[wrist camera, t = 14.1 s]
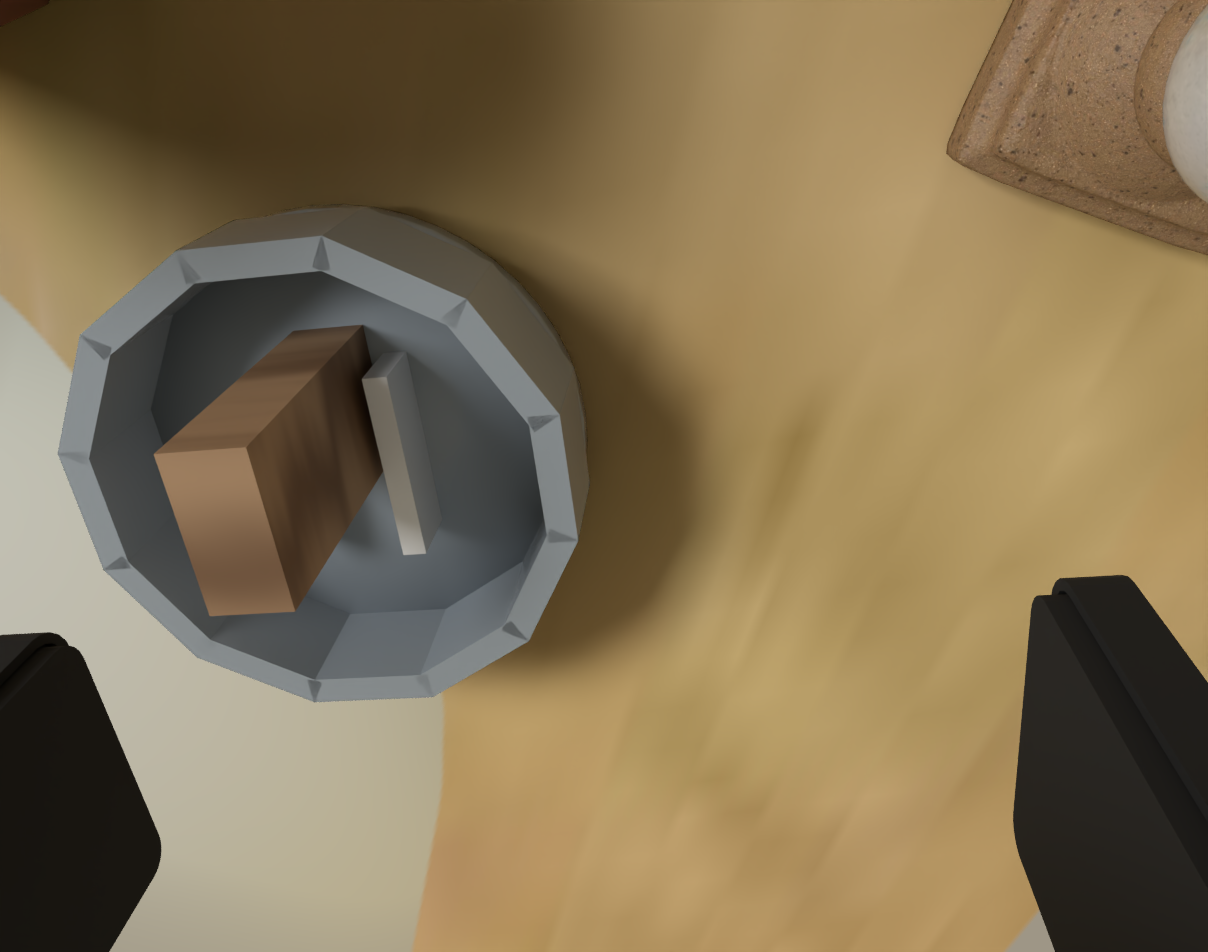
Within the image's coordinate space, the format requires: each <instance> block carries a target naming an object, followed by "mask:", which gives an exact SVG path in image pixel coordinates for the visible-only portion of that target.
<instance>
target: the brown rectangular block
mask: <svg viewBox="0 0 1208 952" xmlns="http://www.w3.org/2000/svg"><path fill="white" fill-rule="evenodd" d="M371 367H372V363H371V358H370V354H369V350H368V345H367V341H366V337H365V332H364V328H363V325H352V326H341V327H330V328H318V329H307V330H296V331H292V332H291V333H290V334H289V335H288V336H287V337H286V338H285V339H283V340H282V341H281V342H280V343H279V344H278V345H277V346H275V347H274V348H273V349H272V350H271V351H270V352H269V353H268V354H266V355H265V356H264V357H263V358H262V359H261V360H260V361H258V362H257V363H256V364H255V365H254V366H253V367H252V368H251V369H249V370H248V371H247V372H246V373H245V374H244V375H243V376H241V377H240V378H239V379H238V380H237V381H236V382H235V383H234V384H232V385H231V386H230V387H229V388H228V389H227V390H226V391H224V392H223V393H222V394H221V395H220V396H219V397H218V398H217V399H215V400H214V401H213V402H212V403H211V404H210V405H209V406H208V407H206V408H205V409H204V410H203V411H202V412H201V413H200V414H198V415H197V416H196V417H195V418H194V419H193V420H192V421H191V422H189V423H188V424H187V425H186V426H185V427H184V428H183V429H181V430H180V431H179V432H178V433H177V434H176V435H175V436H174V437H172V438H171V439H170V440H169V441H168V442H167V443H166V444H164V445H163V446H162V447H161V448H160V449H159V450H158V451H157V452H155V453H154V457H155V460H156V463H157V466H158V468H159V471H160V474H161V477H162V480H163V483H164V486H165V489H166V492H167V494H168V497H169V500H170V503H171V506H172V509H173V512H174V515H175V518H176V520H177V523H178V526H179V529H180V532H181V535H182V538H183V541H184V543H185V546H186V549H187V552H188V555H189V558H190V561H191V564H192V567H193V569H194V572H195V575H196V578H197V581H198V584H199V587H200V590H201V592H202V595H203V598H204V601H205V604H206V607H207V610H208V613H209V616H223V615H242V614H261V613H280V612H295V611H296V610H297V608H298V607H299V605H300V603H301V602H302V600H303V599H304V597H305V595H306V594H307V592H308V591H309V589H310V587H311V586H312V584H313V583H314V581H315V579H316V578H317V576H318V575H319V573H320V571H321V570H322V568H323V567H324V565H325V564H326V562H327V560H328V559H329V557H330V556H331V554H332V552H333V551H334V549H335V548H336V546H337V544H338V543H339V541H340V540H341V538H342V536H343V535H344V533H345V532H346V530H347V528H348V527H349V525H350V524H351V522H352V520H353V519H354V517H355V516H356V514H357V512H358V511H359V509H360V508H361V506H362V504H363V503H364V501H365V500H366V498H367V496H368V495H369V493H370V492H371V490H372V489H373V487H374V485H375V484H376V482H377V481H378V479H379V477H380V476H381V474H382V473H383V467H382V463H381V459H380V454H379V450H378V446H377V442H376V438H375V433H374V429H373V425H372V421H371V417H370V412H369V408H368V404H367V400H366V396H365V391H364V387H363V383H362V378H363V377H364V376H365V374H366V373H367V372H368V371H369V369H370V368H371Z"/></svg>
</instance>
